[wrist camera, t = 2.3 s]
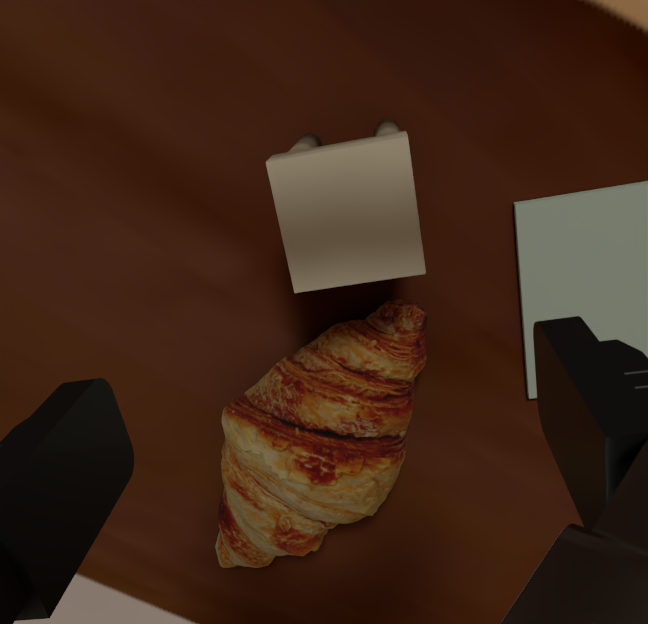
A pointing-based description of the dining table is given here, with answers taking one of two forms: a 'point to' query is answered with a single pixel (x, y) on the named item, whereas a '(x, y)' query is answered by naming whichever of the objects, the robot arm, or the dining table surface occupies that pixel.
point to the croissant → (319, 437)
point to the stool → (348, 210)
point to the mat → (585, 264)
